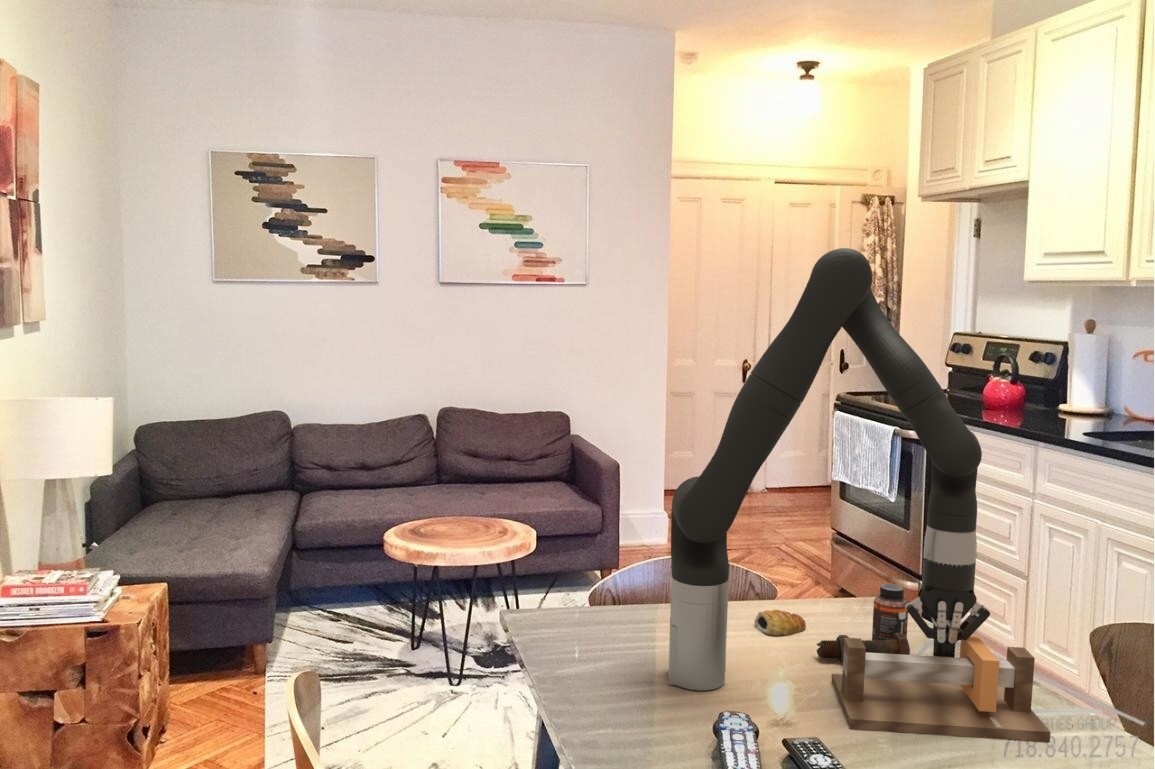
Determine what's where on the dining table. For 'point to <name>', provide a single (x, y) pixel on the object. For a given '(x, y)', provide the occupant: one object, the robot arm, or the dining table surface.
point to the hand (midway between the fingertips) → (943, 663)
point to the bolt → (886, 646)
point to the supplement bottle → (889, 613)
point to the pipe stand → (935, 695)
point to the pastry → (779, 622)
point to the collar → (981, 674)
